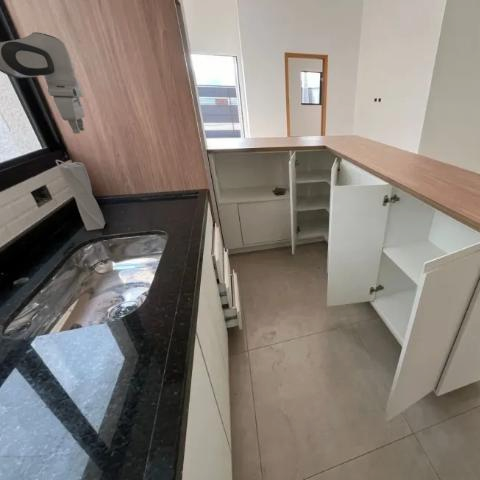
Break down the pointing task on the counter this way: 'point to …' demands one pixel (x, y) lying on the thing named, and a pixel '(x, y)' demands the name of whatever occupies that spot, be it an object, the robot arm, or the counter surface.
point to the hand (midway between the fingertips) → (79, 131)
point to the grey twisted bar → (82, 194)
